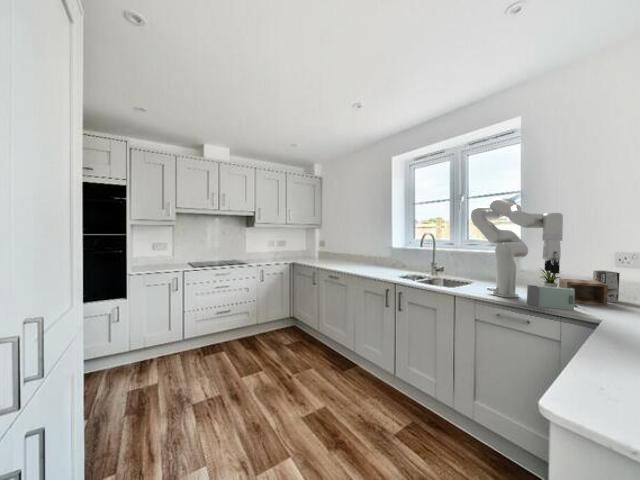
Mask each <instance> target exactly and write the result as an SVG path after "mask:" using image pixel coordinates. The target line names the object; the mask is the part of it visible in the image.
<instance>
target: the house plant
mask: <svg viewBox="0 0 640 480" xmlns="http://www.w3.org/2000/svg"><path fill="white" fill-rule="evenodd" d="M537 271H539V272H540V273H542V276H540V275H537V276H539V279H543V280H544V281H542V284H543V285H542V287H555V288H558V285H559V282H557V281H559V278H561V276H557V273H551V271H545V269H543V268H541V267H540V268H539V269H538V270H537ZM561 272H563V270H562V271H559V274H560V273H561Z"/></svg>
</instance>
